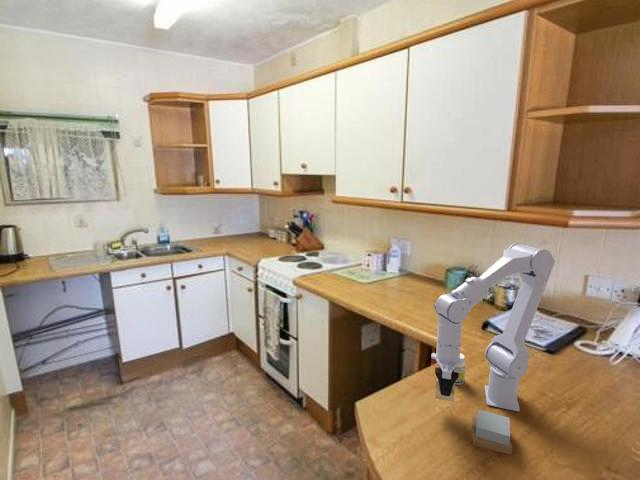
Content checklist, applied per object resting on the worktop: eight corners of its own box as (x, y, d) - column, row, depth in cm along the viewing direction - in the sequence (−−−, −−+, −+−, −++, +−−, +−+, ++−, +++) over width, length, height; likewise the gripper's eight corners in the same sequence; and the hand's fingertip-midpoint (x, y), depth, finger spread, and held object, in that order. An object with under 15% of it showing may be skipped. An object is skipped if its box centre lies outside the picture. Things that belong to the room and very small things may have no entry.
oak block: (436, 388, 98) (437, 371, 97) (453, 391, 97) (455, 374, 96) (435, 398, 94) (436, 380, 93) (453, 401, 93) (454, 384, 92)
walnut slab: (471, 425, 92) (472, 416, 92) (506, 433, 89) (507, 424, 89) (472, 447, 85) (473, 438, 84) (511, 456, 82) (512, 447, 82)
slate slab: (477, 418, 91) (478, 409, 91) (508, 426, 88) (509, 417, 88) (475, 436, 85) (476, 427, 84) (509, 446, 82) (510, 436, 81)
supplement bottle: (450, 374, 114) (452, 349, 113) (466, 379, 111) (468, 354, 110) (445, 381, 111) (447, 355, 109) (461, 386, 108) (463, 360, 106)
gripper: (434, 327, 100) (431, 372, 103) (430, 351, 87) (427, 402, 90) (461, 331, 98) (457, 376, 101) (461, 356, 85) (458, 408, 87)
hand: (445, 389), depth 95 cm, fingers closed on oak block, 4 cm apart
